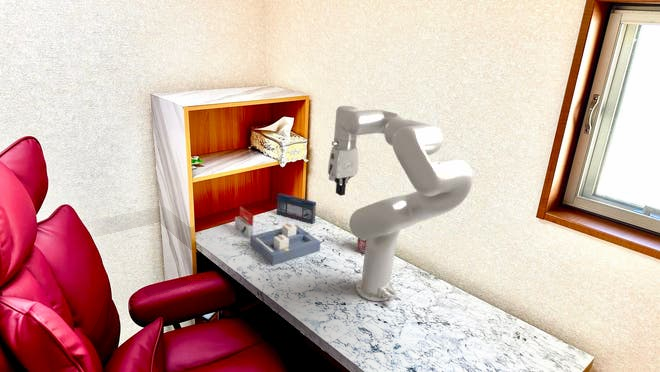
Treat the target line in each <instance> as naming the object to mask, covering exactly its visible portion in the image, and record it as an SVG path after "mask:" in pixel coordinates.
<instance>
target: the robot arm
mask: <svg viewBox="0 0 660 372" xmlns="http://www.w3.org/2000/svg"><path fill="white" fill-rule="evenodd" d="M371 134H383V135H384V139H385V141H386V143H387V144H388V145H390V146H392V150H393V152H394V154H395V157H396V158H397V161H398V162H399V164H400V166H401V168H402V169H403V172H404V173H405V174H406V176H407V178H408V179H409V181H410V183H411V185H412V187H413V188H414V189H415V190H416V191H415V192H411V193H408V194H403V195H397V196H393V197H389V198H385V199H382V200H378V201H375V202H373V203H371V204H368V205H365V206H363V207H360V208H358V209H356V210H355V211H353V213H352V214H351V216H350V217H349V228H350V232H351V233H352V234H353V236H354V237H356V238H357V239H358V238H359V239H362V240H367V241H366V247H365V254H363V255H364V258H363V266H362V272H361V273H362V274H361V279H359V280H358V281H357V283H356V284H355V285H356V286H355V291H356V293H357V294H358V295H359V296H360V297H361V298H363V299H366V300H368V301H372V302H384V301H388V300H389V301H390V302H393V301H394V300H395V297H396V296H397V294H398V293H397V291H395V290H394V286H393V283H392V282H391V279H392V273H393V272H392V271H393V265H394V260H395V259H394V258H395V253H396V246H397V240H398V237H399V234H400V232H401V230H403V229H407V228H410V227H411V226H414V225H416V224H418V223H421V222H424V221H426V220H427V221H428V220H429V219H433V218H436V217H439V216H441V215H444V214H446V213H448V212H450V211H452V210H454V209H455V208H457V207H459V205H461V204H462V203H463V202H464V201H465V199H466V198H468V195H469V193H470V192H471V189H472V186H473V182H474V181H473V177H474V176H473V170H472V168H471V166H470V165H469V164H468V163H467V162H465V160H461V159H458V158H457V159H456V158H447V159H441V160H435V161H431V159H430V157H429V156H430V155H433V154H435V153H437V152H438V151H439V150H440V149H441V148H442V146H443V143H444V136H443V133H442V131H441V130H440V128H438V127H437V126H435V125H433V124H430V123H426V122H421V121H418V120H417V121H416V120H414V119H413V120H412V119H408V118H404V117H401V116H400V115H399V114H397V113H395V112H391V111H387V110H383V109H367V110H366V109H365V110H359V108H358V107H355V106H352V105H341V106H338V107H336V111H335V122H334V137H333V141H332V142H331V145H332V147H331V150H330V153H329V160H328V166H327V167H328V168H327V174H328V175H329V176H328V180H329V181H331V182H334V183H336V185H335V194H336V195H339V196H340V197H341V196H345V195H346V186H347V184H348V183H349V180H350V179H352V178H353V177H354V176H356V175H357V174H358V170H359V149H358V147H357V139H358V136H361V135H371Z"/></svg>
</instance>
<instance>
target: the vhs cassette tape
mask: <svg viewBox="0 0 660 372" xmlns="http://www.w3.org/2000/svg"><path fill="white" fill-rule="evenodd" d="M276 195H277V198H276V201H277V203H276V216H277V215H278V216H280V215H281V217H285V218H287V217H288V218H287V219H291V220H294V219H295V221H298V220H299V222H302V223H305V222H306V223H305V224H309V223H310V225H313V224H314V223H315V222H316V207H317V202H316V201H312V200H309V199H305V198H301V197H297V196H293V195H290V194H289V195H288V194H284V193H278V194H276Z"/></svg>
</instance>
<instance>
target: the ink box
mask: <svg viewBox="0 0 660 372" xmlns="http://www.w3.org/2000/svg"><path fill="white" fill-rule="evenodd" d="M234 217H235V218H234V229H236V230H237V231H238V232H240V234H242V235H243V236H245V237H246V239H250V236H253V235H254V214H252V213H251V212H249V211H248V210H247V209H245V208H244V207H243V206H241V205H240V206H239V216H234Z"/></svg>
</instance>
